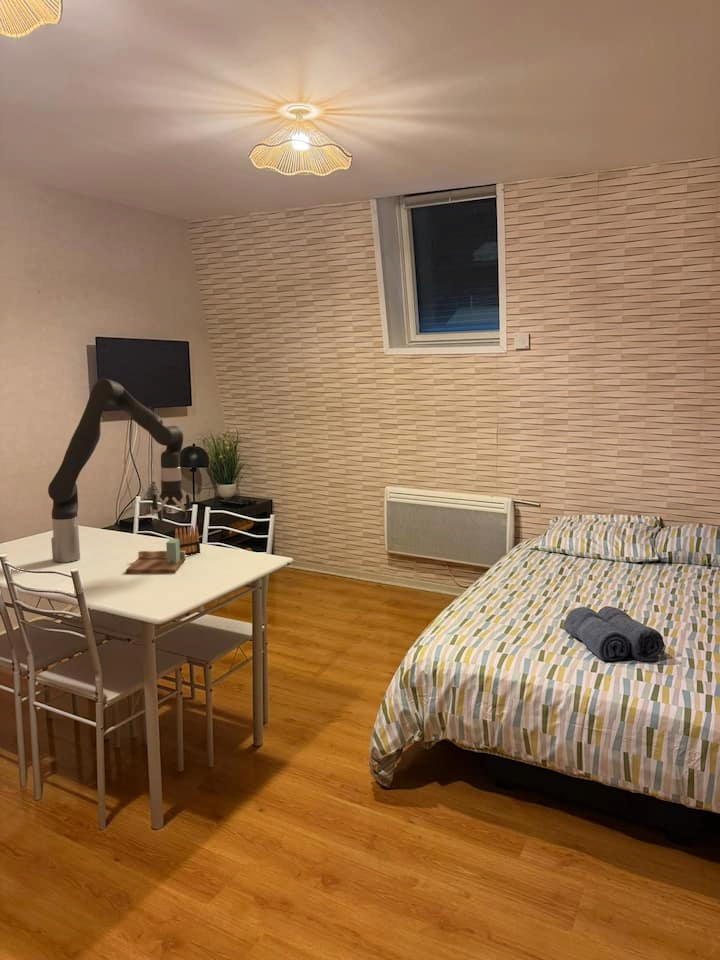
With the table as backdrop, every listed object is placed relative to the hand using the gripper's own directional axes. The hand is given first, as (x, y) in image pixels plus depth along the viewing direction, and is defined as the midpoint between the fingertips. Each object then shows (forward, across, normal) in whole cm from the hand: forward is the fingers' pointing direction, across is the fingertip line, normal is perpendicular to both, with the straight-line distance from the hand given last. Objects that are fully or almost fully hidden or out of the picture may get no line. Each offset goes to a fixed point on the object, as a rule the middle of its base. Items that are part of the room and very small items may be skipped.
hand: (172, 520), depth 258 cm
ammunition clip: (+18, +2, +14) cm, 22 cm away
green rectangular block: (+16, 0, 0) cm, 16 cm away
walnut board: (+18, -6, -3) cm, 19 cm away
